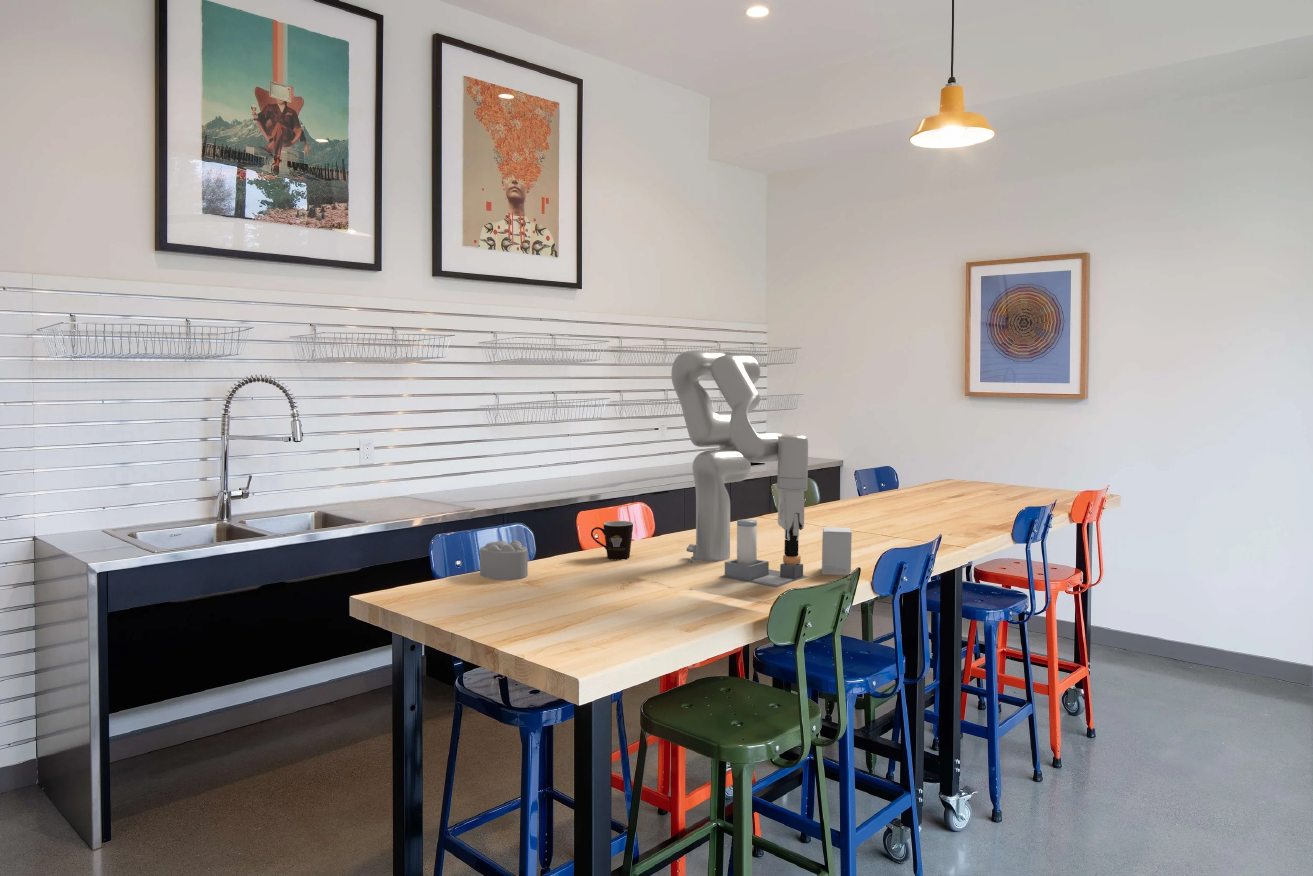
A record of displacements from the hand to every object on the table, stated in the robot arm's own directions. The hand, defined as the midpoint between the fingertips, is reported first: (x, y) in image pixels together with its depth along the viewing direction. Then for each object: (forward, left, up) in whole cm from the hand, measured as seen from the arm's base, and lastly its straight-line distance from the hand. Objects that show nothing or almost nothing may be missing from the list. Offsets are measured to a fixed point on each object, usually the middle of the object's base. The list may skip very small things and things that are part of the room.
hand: (791, 555), depth 218 cm
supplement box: (+6, +12, -7) cm, 15 cm away
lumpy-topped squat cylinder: (-61, -43, -7) cm, 75 cm away
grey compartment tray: (-5, -5, -7) cm, 10 cm away
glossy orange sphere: (0, 0, -5) cm, 5 cm away
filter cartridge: (-9, -7, -5) cm, 12 cm away
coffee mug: (-55, -8, -7) cm, 56 cm away
